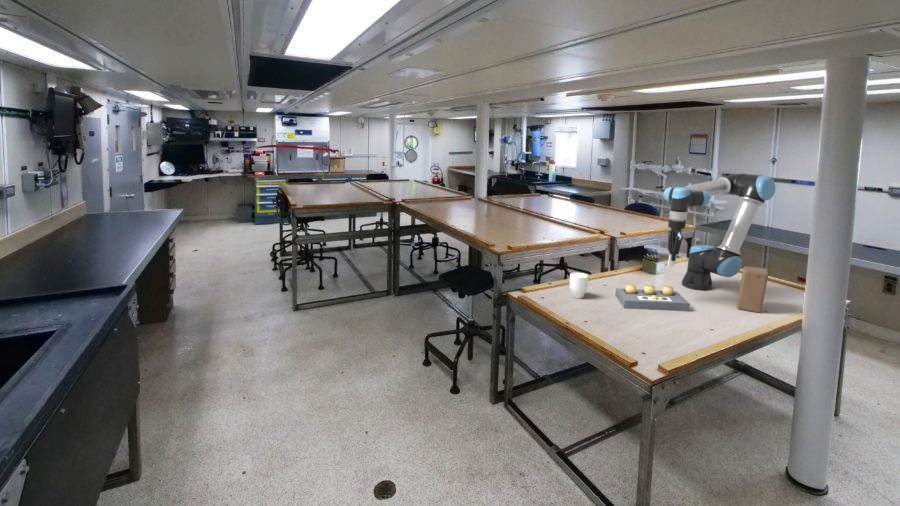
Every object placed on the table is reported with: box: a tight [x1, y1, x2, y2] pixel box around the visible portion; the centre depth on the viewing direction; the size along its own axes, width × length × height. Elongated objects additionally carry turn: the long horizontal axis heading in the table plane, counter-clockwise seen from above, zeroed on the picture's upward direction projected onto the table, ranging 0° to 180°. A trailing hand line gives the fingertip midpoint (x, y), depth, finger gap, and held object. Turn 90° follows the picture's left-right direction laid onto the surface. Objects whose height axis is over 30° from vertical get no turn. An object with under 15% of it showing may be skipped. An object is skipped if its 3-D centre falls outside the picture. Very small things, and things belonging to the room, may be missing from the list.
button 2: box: [662, 285, 674, 296], centre depth 234 cm, size 5×5×4 cm
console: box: [614, 287, 691, 312], centre depth 232 cm, size 30×18×4 cm, turn 84°
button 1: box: [625, 284, 637, 294], centre depth 236 cm, size 5×5×4 cm
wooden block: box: [736, 265, 769, 314], centre depth 224 cm, size 10×10×20 cm
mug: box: [569, 272, 589, 299], centre depth 240 cm, size 12×9×12 cm
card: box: [637, 295, 672, 302], centre depth 227 cm, size 15×5×2 cm, turn 84°
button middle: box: [643, 284, 656, 295], centre depth 235 cm, size 5×5×4 cm
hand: (671, 266), depth 231 cm, fingers closed
